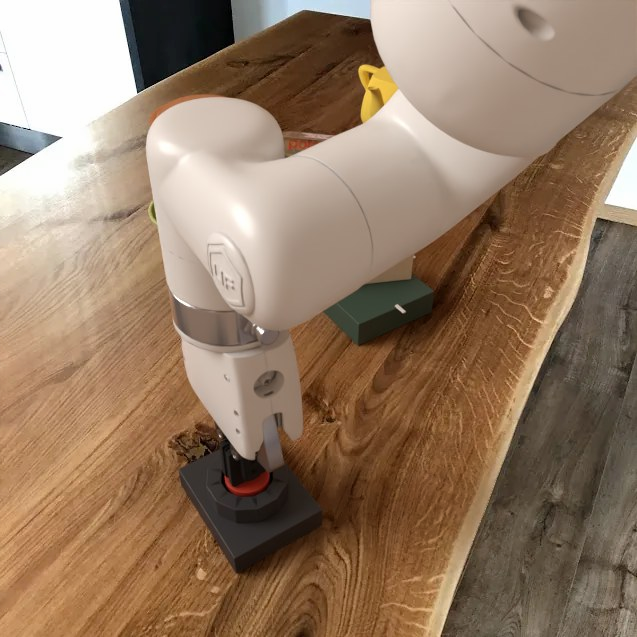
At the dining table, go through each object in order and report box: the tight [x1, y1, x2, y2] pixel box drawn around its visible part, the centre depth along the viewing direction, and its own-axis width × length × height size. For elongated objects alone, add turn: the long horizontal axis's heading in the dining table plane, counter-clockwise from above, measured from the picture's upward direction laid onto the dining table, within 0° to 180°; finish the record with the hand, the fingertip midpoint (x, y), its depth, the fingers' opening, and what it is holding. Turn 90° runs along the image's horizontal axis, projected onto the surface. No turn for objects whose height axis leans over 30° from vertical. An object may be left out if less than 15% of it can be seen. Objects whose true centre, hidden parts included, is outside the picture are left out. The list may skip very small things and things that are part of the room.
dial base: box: [322, 255, 435, 346], centre depth 81 cm, size 14×14×3 cm
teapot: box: [358, 64, 399, 124], centre depth 110 cm, size 14×13×10 cm
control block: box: [178, 448, 323, 574], centre depth 60 cm, size 10×8×4 cm
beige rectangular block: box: [366, 254, 415, 284], centre depth 79 cm, size 10×2×5 cm, turn 100°
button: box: [225, 471, 270, 497], centre depth 59 cm, size 4×4×2 cm
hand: (245, 472), depth 59 cm, fingers closed
